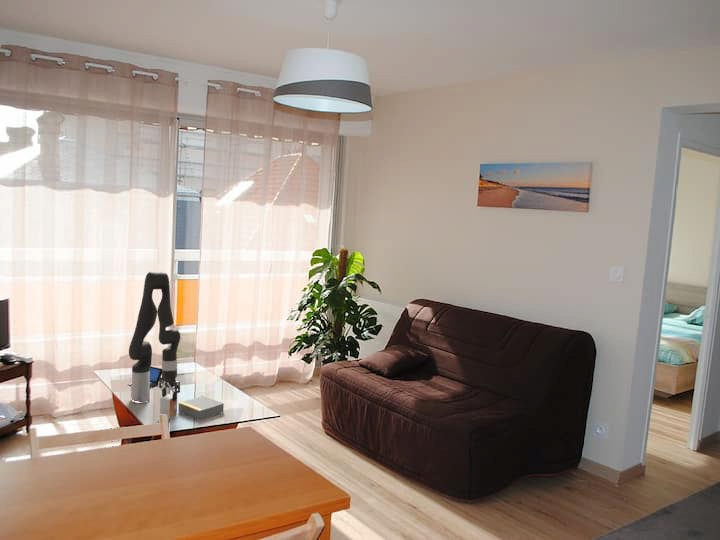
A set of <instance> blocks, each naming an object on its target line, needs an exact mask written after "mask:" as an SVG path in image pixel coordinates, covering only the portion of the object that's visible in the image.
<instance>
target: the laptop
mask: <svg viewBox="0 0 720 540" xmlns="http://www.w3.org/2000/svg"><path fill="white" fill-rule="evenodd" d="M160 377H162V367H161V368H160V367H154V366H151V367H150V387H152V388H154V387H157V386H159V378H160Z"/></svg>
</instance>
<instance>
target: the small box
mask: <svg viewBox="0 0 720 540" xmlns="http://www.w3.org/2000/svg"><path fill="white" fill-rule="evenodd" d="M172 394H173V393H172ZM172 394H171V393H167V395H166V396H164V397H162V396H161V397H160V398H159V415H160V414H167V415H168V416H169V419H168V420H170V419H172V418H173V417H175V416H176V415H177V414H178V399H177V400H176V401H173V400H172ZM171 417H172V418H171Z"/></svg>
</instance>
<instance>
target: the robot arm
mask: <svg viewBox="0 0 720 540" xmlns="http://www.w3.org/2000/svg"><path fill="white" fill-rule="evenodd" d="M155 290H161V300H160V302H159V304H158V307H157V306H156V304H155V301H154V299H153V292H154V291H155ZM142 291H143V293H142V300H141V303H140V307H139V312H138V315H137V319H136V320H137V321H136V325H135V328H134V332H133V335H132V338H131V342H130V344H129V347H128V356H129V359H131V360H132V361H136V362H135V363H134V364H133V365H132V366H131V381H132V384H131V385H130V397H131V398H132V400H134V401H139V402H146V401H148V402H150V395H151V394H150V389H151V388H150V367H152V359H153V355H152V354H153V347H152V344H151V343H150V342H149V341H147V340H145V338H146V337H147V335H148V334H149V332H150V331H151V330H152V329H153V327H154V326H155V324H156V321H157V318H158V323H159V325H158V326H159V331H158V340H159V343H160V344H161V345H169V346H167V347H165V348H162V349H163V350H162V351H161V352H162V354H161V356H162V357H161V358H162V361H161V369H162V375H161V377H160V378H159V382H158V388H159V389H161V398H162V397H164V396H166V395H167V394H168V393H167V388H169V390H170V391H171V393H172V400H173V401H176V400H177V401H178V394H179V393H181V382H180V381H177V380H176V378H177V377H178V361H177V359H178V353H177V352H178V348H179V343H180V340H181V332H180V331H179V330H178V329H166V328H170V327H172V326H173V325H174V323H175V322H174V317H173V312H172V308H171V307H172V305H171V288H170V277H169V275H168V273H166V272H164V271H149V272H148V273H146V275H145V278H144V285H143V290H142ZM131 398H130V399H131ZM132 400H131V401H132ZM146 403H147V402H146Z"/></svg>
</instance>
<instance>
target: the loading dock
mask: <svg viewBox="0 0 720 540" xmlns="http://www.w3.org/2000/svg"><path fill="white" fill-rule="evenodd" d="M224 407H225V406H224V403H223V402H221V401H218V400H216V399H213V398H210V397H208V396H205V395H202V396H201V395H200V396H198V397H194V398H192V399H188V400H185V401H178V413H180V414H182V415H185V416H187V417H189V418H192V419H194V420H197V421H202V420H205V419H208V418H211V417H213V416H217V415H219V413H220V414H222V413H221V412H223V413H224ZM216 414H217V415H216Z"/></svg>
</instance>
